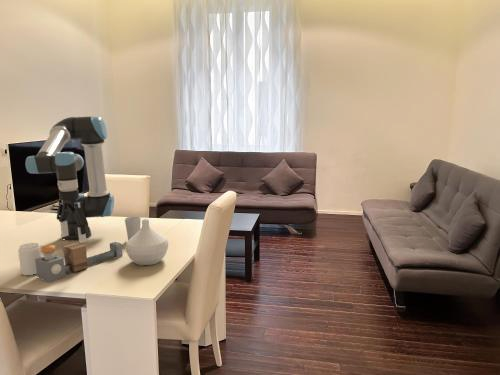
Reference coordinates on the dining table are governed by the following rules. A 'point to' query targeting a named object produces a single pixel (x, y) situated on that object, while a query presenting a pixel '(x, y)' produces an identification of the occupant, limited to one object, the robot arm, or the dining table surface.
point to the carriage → (76, 256)
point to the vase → (146, 246)
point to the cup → (132, 226)
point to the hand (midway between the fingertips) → (73, 238)
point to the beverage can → (29, 258)
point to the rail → (101, 256)
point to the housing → (50, 268)
